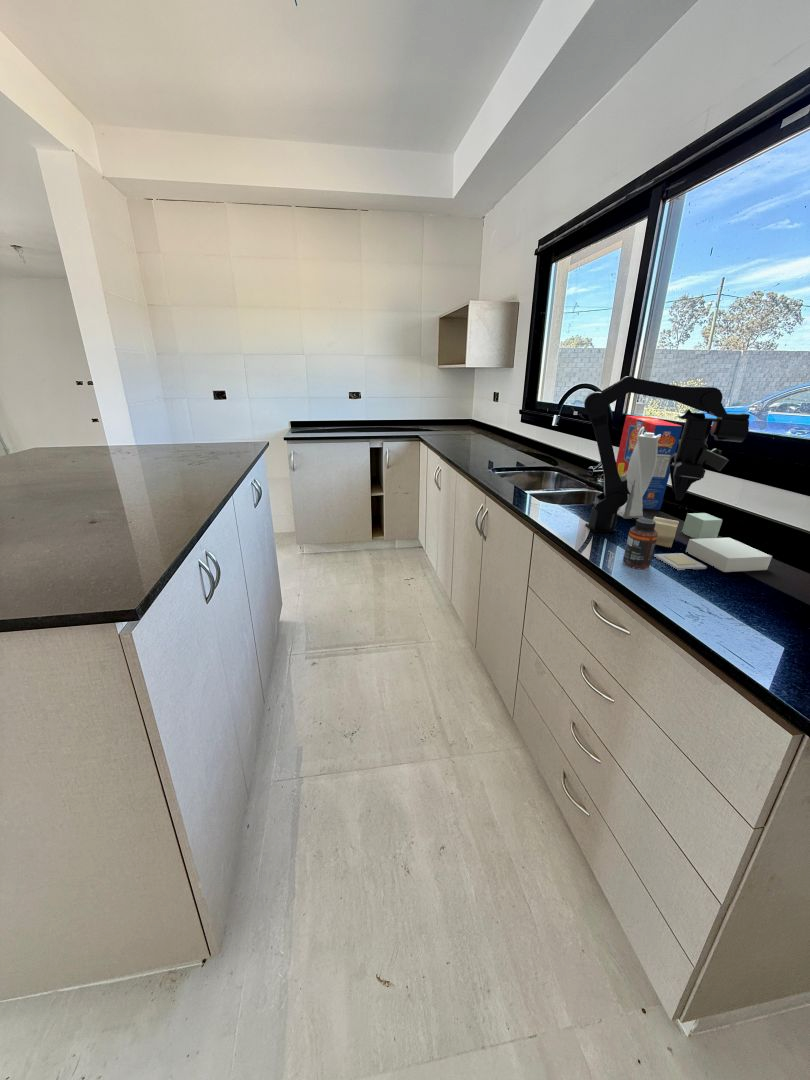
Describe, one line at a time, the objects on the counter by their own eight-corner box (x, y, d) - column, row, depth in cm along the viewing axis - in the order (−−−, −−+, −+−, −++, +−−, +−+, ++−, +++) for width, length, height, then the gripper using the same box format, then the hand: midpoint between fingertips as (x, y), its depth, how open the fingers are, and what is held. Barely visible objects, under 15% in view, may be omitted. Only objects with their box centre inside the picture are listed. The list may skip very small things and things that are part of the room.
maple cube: (670, 548, 115) (677, 527, 112) (646, 542, 118) (651, 522, 115) (673, 541, 119) (679, 521, 117) (649, 536, 122) (654, 516, 120)
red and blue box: (610, 487, 173) (626, 415, 162) (631, 488, 172) (648, 416, 161) (635, 508, 147) (655, 424, 136) (660, 510, 146) (682, 426, 135)
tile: (676, 570, 101) (677, 567, 101) (653, 556, 109) (654, 553, 108) (706, 568, 103) (707, 565, 102) (681, 555, 110) (682, 552, 110)
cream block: (723, 573, 102) (728, 558, 100) (685, 553, 112) (689, 539, 111) (766, 571, 104) (772, 556, 102) (724, 551, 114) (729, 537, 113)
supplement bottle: (647, 561, 106) (658, 518, 101) (651, 571, 100) (663, 526, 96) (620, 557, 107) (631, 515, 103) (623, 567, 102) (634, 522, 98)
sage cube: (697, 540, 120) (703, 520, 118) (681, 532, 126) (687, 513, 124) (716, 539, 121) (722, 519, 119) (699, 532, 127) (705, 513, 125)
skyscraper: (610, 511, 144) (629, 425, 133) (632, 511, 145) (653, 426, 134) (624, 519, 136) (646, 429, 126) (648, 519, 137) (671, 430, 127)
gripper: (739, 447, 100) (717, 510, 106) (723, 437, 115) (705, 492, 121) (684, 441, 104) (666, 503, 110) (676, 432, 120) (661, 486, 126)
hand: (676, 496), depth 117 cm, fingers open, 9 cm apart
